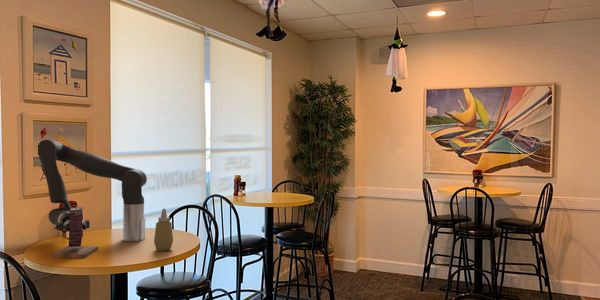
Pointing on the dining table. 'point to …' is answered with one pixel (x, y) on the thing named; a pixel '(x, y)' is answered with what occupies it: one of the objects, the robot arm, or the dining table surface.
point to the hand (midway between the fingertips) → (76, 228)
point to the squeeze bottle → (163, 233)
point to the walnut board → (75, 252)
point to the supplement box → (75, 227)
